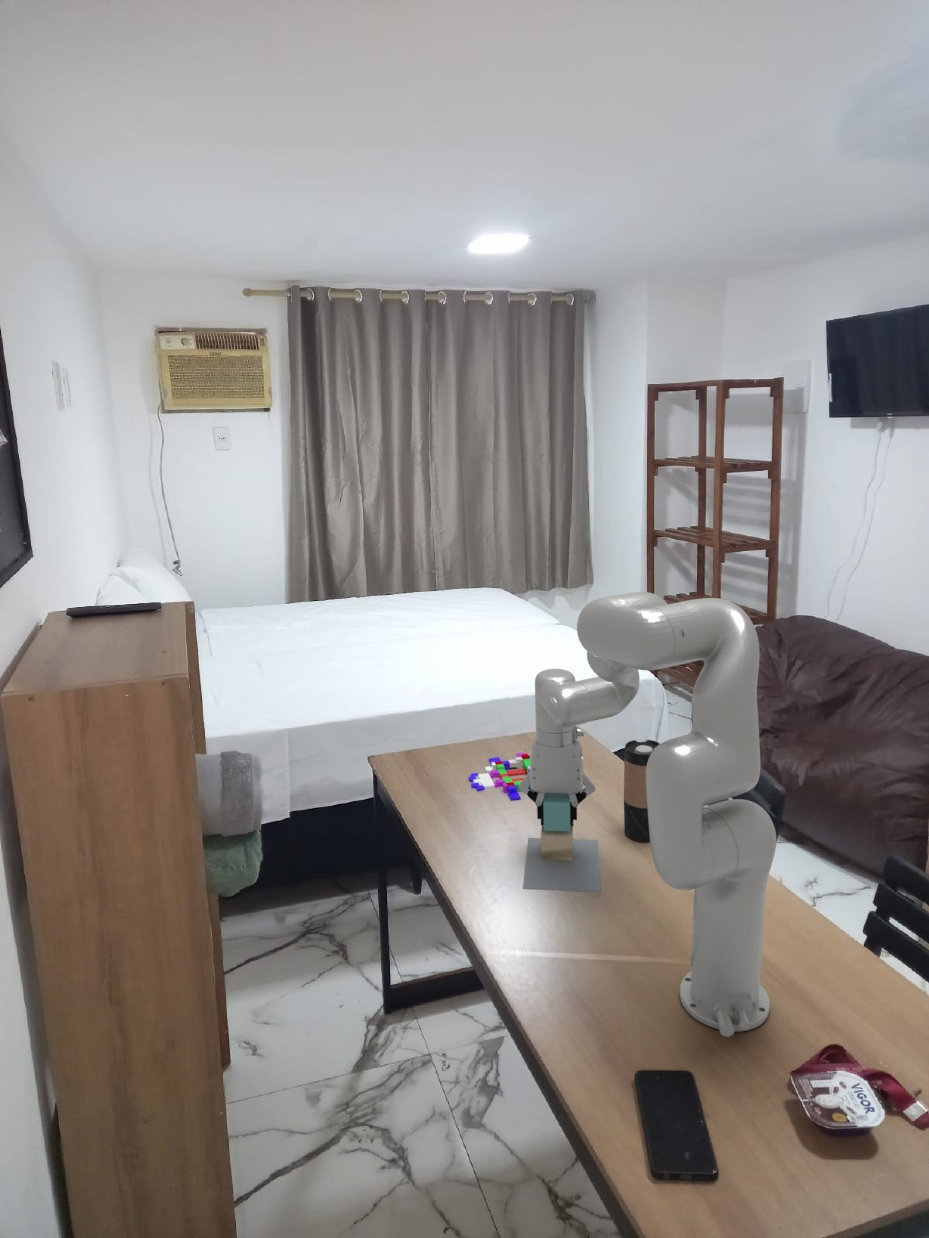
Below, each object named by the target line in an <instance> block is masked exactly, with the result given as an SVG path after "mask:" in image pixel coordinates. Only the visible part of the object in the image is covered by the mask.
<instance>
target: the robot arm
mask: <svg viewBox="0 0 929 1238" xmlns="http://www.w3.org/2000/svg"><path fill="white" fill-rule="evenodd" d="M576 632H577V637H578V638H577V639H578V640H579V642H580V645H581V646H582V648H584V650H585V651H586V659H587V663H588V665H589V667H590V669H591V671H593V673H594V674H595V675H596V676H594V677H590V678H585V679H581V680H580V679H579V680H577V681H576V677H575V675H574V674H573V673H572V672H571V671H569V670H567V669H562V668H549V669H548V668H547V669H545V670H541V671H539V672H538V673H537V674H536V675H535V679H534V702H535V703H534V704H535V705H534V707H535V709H534V710H535V736H534V737H533V738H532V741H531V747H530V754H529V756H530V772H529V773H528V774H526V775H525V777H523V778H524V779H523V780H522V781H521V783H520V784H519V790H520V791H519V792H522V793H524V795H526V796H527V797H528V798H529V799H530V800H531V801H532V802H534V804H535V806H536V812H537V813H536V814H537V817H536V818H537V820H540V826H542V825H544V810H543V800H544V799H543V798H544V794H545V793H568V794H569V797H570V825H571V826H573V827H574V821H577V820H578V806H579V805H580V803H582V802H583V801H585V799H586V798H587V797H589V796H590V795H592V794H593V793H595V791H596V786H595V784H594V783H593V782H592V780H591V779H590V778H589V777H588V776H587V775H586V773H585V771H584V760H583V759H584V758H583V757H584V755H583V748H582V743H581V740H580V738H579V737H584V736H585V732H584V730H585V729H584V728H580V727H578V726H579V725H583V724H587V723H590V722H595V721H599V720H604V719H608V718H612V717H615V716H616V715H619V714H620V713H621V712H623V711H624V710H625V708H627V707H628V706H629V705H630V704H631V702H632V701H633V700H634V699H635V698H636V696H637V695H638V693H639V689H640V680H641V679H640V672H639V670H640V671H655V670H662V669H667V668H672V667H675V666H680V665H684V664H689V663H692V662H693V663H694V662H697V661H702V662H703V663H704V664H703V667H702V669H701V671H700V672H699V675H698V676H697V678H696V681H695V684H694V686H693V690H692V695H691V701H690V702H691V713H692V716H691V717H692V721H691V722H692V725H691V730H690V732H689V733H688V734H685V735H682V736H677V737H673V738H671V739H667V740H665V741H663V742H661V743H660V744H659V745H658V746H657V747H656V748H655V749H654V750H653V751H652V753H651V755H650V757H649V759H648V762H647V766H646V794H647V807H648V821H649V834H650V843H649V844H650V852H651V856H652V860H653V863H654V866H655V869H656V870H657V871H656V872H657V873H658V874H659V876H660V878H661V879H662V881H664V883H666V884H667V885H668V886H669V887H671V888H673V889H676V890H678V891H679V890H680V891H691V890H694V891H693V904H692V905H693V906H692V907H693V909H692V931H691V932H692V936H691V937H692V938H691V962H690V965H691V966H690V967H691V968H690V971H689V972H688V973H685V975H684V976H683V978H682V979H681V981H680V984H679V999H680V1002H681V1004H682V1006H683V1007H684V1010H685V1011H686V1012H687V1013H689V1015H691V1016H692V1018H694V1019H695V1020H697V1021H699V1022H700V1023H702V1024H704V1025H706V1026H708V1027H711V1028H712V1029H713V1028H714V1029H717V1030H719V1032H720V1034H721V1036H723V1037H727V1038H728V1037H733V1035H734V1034H735V1032H744V1031H745V1032H746V1031H749V1030H753V1029H756V1028H757V1027H759V1026H761V1025H762V1024H764V1022H766V1020H767V1018H768V1017H769V1013H770V1008H771V1001H770V997H769V995H768V993H767V990H766V989H765V988H764V987H763V985H762V984H761V981H760V980H761V964H762V951H763V950H762V949H763V935H764V934H763V931H764V930H763V929H764V918H765V917H764V916H765V903H766V893H767V886H768V885H767V884H768V879H769V876H770V871H771V868H772V865H773V862H774V859H775V854H776V853H775V852H776V849H777V848H776V847H777V833H776V828H775V825H774V823H773V820H772V817H770V815H769V813H768V812H767V811H766V810H765V809H764V808H763V807H762V806H761V805H759V804H758V803H756V802H754V801H751V800H748V799H742V798H737V799H734V797H737V796H740V795H742V794H744V793H748V792H749V791H751V790H752V789H754V788H755V787H756V785H757V784H758V782H759V779H760V776H761V775H760V774H761V748H760V730H759V729H760V728H759V727H760V726H759V711H758V693H757V692H758V682H759V680H758V679H759V670H760V642H759V637H758V633H757V631H756V627H755V625H754V624H753V621H752V620H751V617H750V616H749V615H748V614H747V613H746V611H745V610H744V609H743V608H741V607H740V605H738V604H736V603H734V602H732V601H730V600H727V599H723V598H718V597H716V598H715V597H703V598H695V599H688V600H683V601H679V602H674V603H668V602H667V601H666V600H665V599H663V597H661V596H659V595H658V594H655V593H652V592H648V591H647V592H646V591H637V592H628V593H624V594H617V595H610V596H606V597H599V598H597V599H596V598H595V599H593V600H591V601H589V602H587V604H586V605H584V607H583V608H582V609H581V611H580V613H579V615H578V618H577V623H576ZM529 784H530V787H531V788H530V787H529V786H528V785H529ZM731 798H733V799H731ZM727 799H728V800H727Z"/></svg>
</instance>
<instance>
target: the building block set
mask: <svg viewBox="0 0 929 1238" xmlns="http://www.w3.org/2000/svg"><path fill="white" fill-rule="evenodd" d="M488 761H489V764H490V765H491V766H485V767H484V771H485V772H486V773H479V774H478V772H474V773H470V776H468V778H467V779H468V781H470V782H469V783H471V784H470V786H471V788H472V789H473V788H474V789H476V791H477V792H483V791H482V790H488V789H494V788H502V792H503V793H504V794H507V796H508V797H509V800H510V801H511V802H512V801H521V795H520V794H519V792H521V791H520V790H519V784H520V783H521V781H522V780H523V779H524V778H525V777H519V778H510V777H516V776H526V775H527V774H528V773H529V772H530V754H529V753H527V752H525V753H524V752H517V753H516V757H514V759H507V760H501V758H500V757H499V756H497V757H489V758H488ZM511 768H516V769H511ZM495 778H496V779H495ZM497 778H499V779H497ZM492 779H495V781H493V780H492ZM528 786H529V787H530V784H529V785H528ZM530 788H531V787H530ZM543 799H544V798H543Z"/></svg>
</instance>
